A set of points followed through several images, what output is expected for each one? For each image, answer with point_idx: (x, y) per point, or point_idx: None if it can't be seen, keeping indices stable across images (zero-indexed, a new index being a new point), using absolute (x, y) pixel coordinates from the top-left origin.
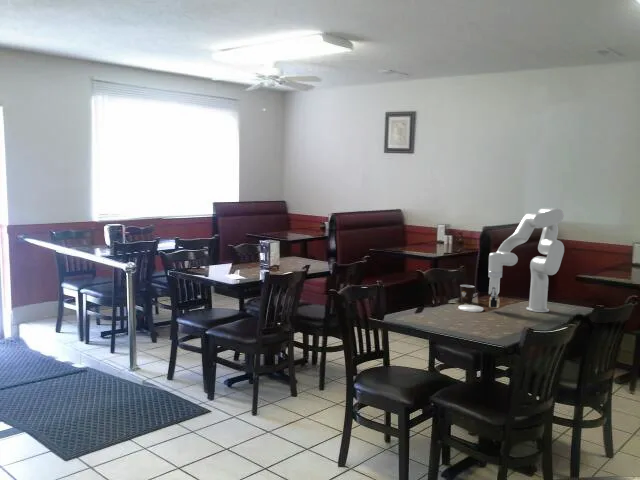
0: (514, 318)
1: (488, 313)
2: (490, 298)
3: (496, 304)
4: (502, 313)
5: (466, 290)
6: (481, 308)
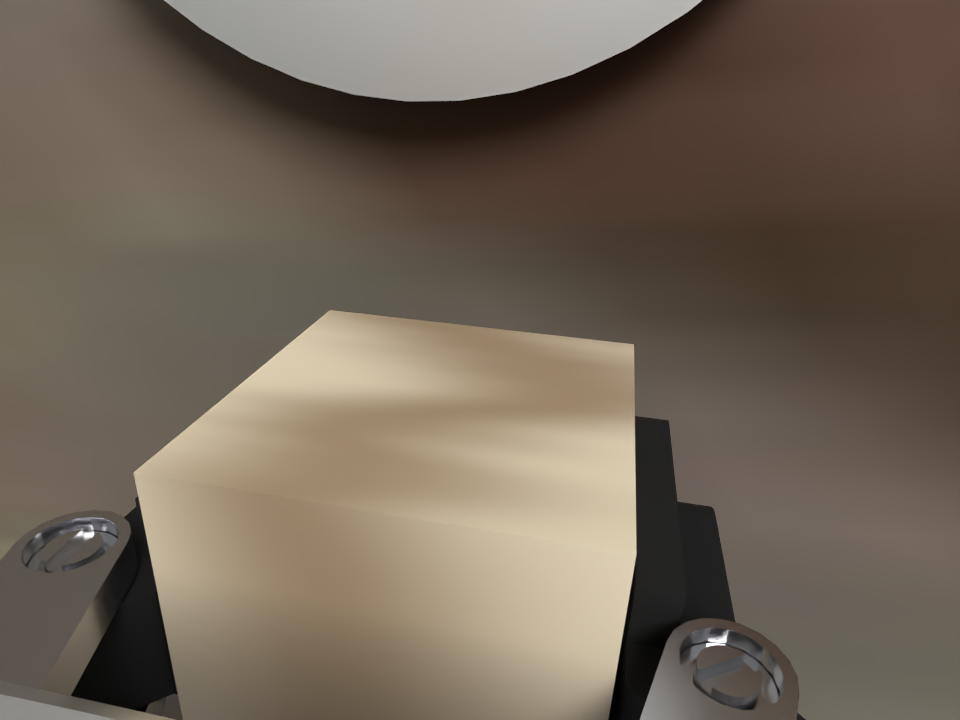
0: None
1: (180, 263)
2: (156, 524)
3: None
4: None
5: None
6: (426, 29)
